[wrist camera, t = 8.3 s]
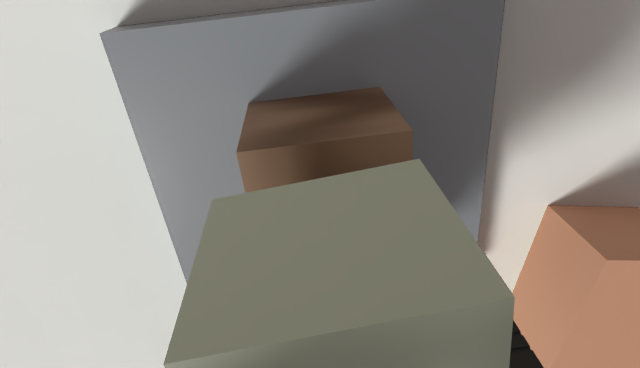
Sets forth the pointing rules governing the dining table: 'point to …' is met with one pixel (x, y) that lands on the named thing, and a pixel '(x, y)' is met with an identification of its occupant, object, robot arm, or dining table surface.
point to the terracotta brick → (582, 288)
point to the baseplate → (306, 90)
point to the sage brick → (342, 280)
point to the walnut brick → (320, 137)
